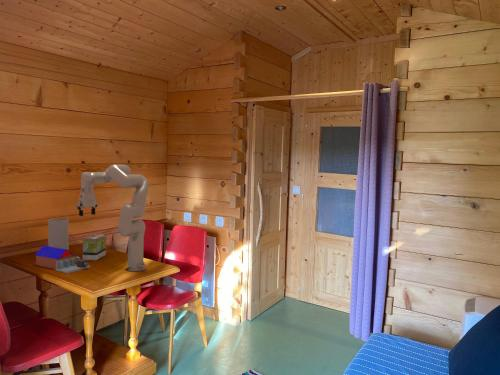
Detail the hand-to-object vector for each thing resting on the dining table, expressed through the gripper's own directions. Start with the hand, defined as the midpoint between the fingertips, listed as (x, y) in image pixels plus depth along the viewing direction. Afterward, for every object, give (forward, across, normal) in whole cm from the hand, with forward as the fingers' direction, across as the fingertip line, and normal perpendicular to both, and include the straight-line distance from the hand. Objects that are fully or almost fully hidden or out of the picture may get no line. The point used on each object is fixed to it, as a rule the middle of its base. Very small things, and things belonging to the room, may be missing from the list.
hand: (87, 215), depth 268 cm
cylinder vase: (+29, -9, +18) cm, 35 cm away
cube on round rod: (+28, -21, -22) cm, 41 cm away
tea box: (+29, +1, -6) cm, 29 cm away
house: (+29, -26, -3) cm, 39 cm away
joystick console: (+29, -25, -19) cm, 42 cm away
